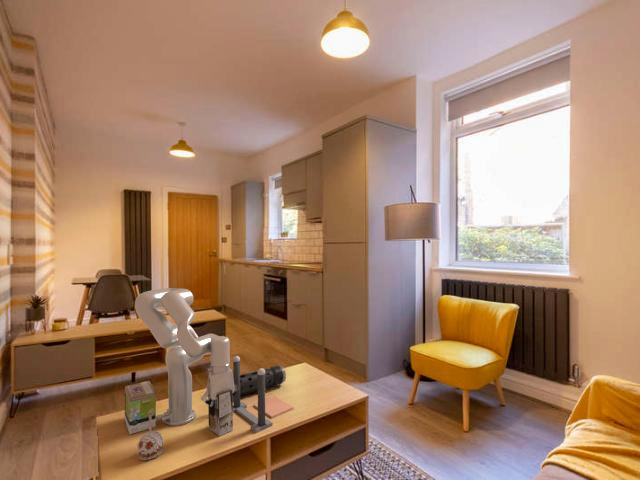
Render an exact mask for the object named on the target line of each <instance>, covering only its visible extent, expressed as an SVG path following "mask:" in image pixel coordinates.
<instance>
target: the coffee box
mask: <svg viewBox="0 0 640 480" xmlns="http://www.w3.org/2000/svg"><path fill="white" fill-rule="evenodd" d="M207 400H209V397H208V396H207ZM213 405H214V416H212V415H210V414H209V405H208V404H207V406H208V408H207V409H208V411H207V412H208V413H207V414H208V429H209V430H210V431H211V432H213V433H215V434H216V435H217V436H218V437H221V436H223V435H225V434H227V433H229V432H232V431H233V429H234V427H233V425H234V422H233V421H234V419H233V417H234V416H233V415H234V414H233V405H234V404H233V390H227V391H224V392H222V393H219V394H217V399H216V400H215V401H214V404H213Z"/></svg>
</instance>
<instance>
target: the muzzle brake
mask: <svg viewBox="0 0 640 480" xmlns="http://www.w3.org/2000/svg"><path fill="white" fill-rule="evenodd" d="M263 369H264V370H265V390H269V389H271V388H273V387H276V386H280V385H282V384H283V383H285V382H286V378H287V375H286V370H285V368H284V366H281V365H275V366H271V367H269V368H263ZM257 372H258V370H256V371H251V372H248V373H244V374H240V397H242V396H246V395H249V394H252V393H254V392H255V393H256V392H258V374H257ZM232 389H233V388H232Z"/></svg>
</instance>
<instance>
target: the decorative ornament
mask: <svg viewBox="0 0 640 480" xmlns="http://www.w3.org/2000/svg"><path fill="white" fill-rule="evenodd" d="M136 445H137V451H138V454H137V458H138V459H139V460H140V461H147V460H149V461H150V460H151V459H155V458H156V457H159V456H160V455H161V454H162V453H163V435H162V433H160V432H159V431H157V430H152V413H149V429H148V431H147V432H146V433H144V434H142V436H140V438H139V440H138V443H137V444H136Z"/></svg>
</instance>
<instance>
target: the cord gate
mask: <svg viewBox="0 0 640 480" xmlns="http://www.w3.org/2000/svg"><path fill="white" fill-rule="evenodd" d="M232 369H233V370H232V373H233V379H234V384H235V385H236V386H238V387H239V388H238V390H237V391H236V393H235V395H234V396H233V413H237V414H239V415H240V416H241V417H242V418H244V419H245V420H246V421H248V422H249V423H251V424H252V425H251V426H250V430H252V432H254V433H255V434H257V433H260V432H261V431H263V430H266V429H268V428H271V427H273V425H274V423H273V421H272V420H269V419H268V418H266V414H265V400H266V388H265V370H264V369H265V368H264V367H262V368H261V367H260V368H258V370H257V371H258V372H257V374H258V390H257V403H258V409H257V416H256V415H254V414H253V413H252V412H250V411H248V410H247V408H248V407H247V406H248V404H246V403H245V402H243V401H241V396H240V375H241V358H240V356H239V355H236V356H233V359H232Z"/></svg>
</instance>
